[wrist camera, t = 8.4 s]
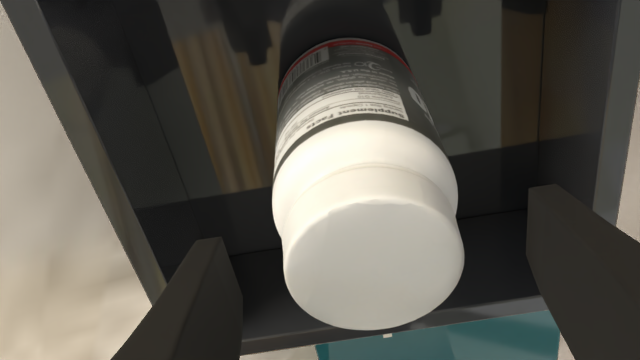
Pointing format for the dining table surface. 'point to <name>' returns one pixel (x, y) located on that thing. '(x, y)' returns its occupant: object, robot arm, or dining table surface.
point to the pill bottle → (362, 190)
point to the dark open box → (261, 118)
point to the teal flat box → (458, 341)
